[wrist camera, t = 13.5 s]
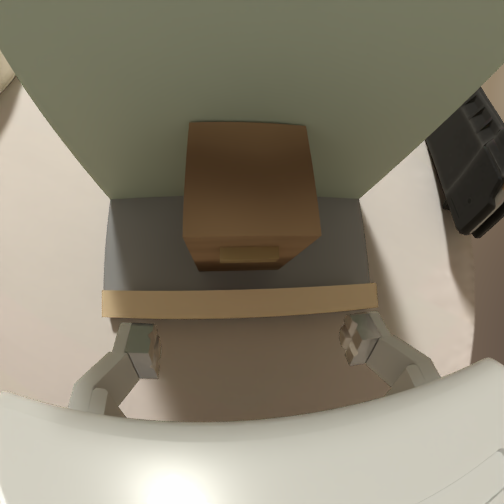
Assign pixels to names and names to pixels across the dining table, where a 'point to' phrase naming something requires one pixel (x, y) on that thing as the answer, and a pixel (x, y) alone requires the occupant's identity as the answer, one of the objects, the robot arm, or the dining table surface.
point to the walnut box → (248, 195)
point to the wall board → (244, 110)
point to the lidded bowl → (5, 73)
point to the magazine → (471, 164)
